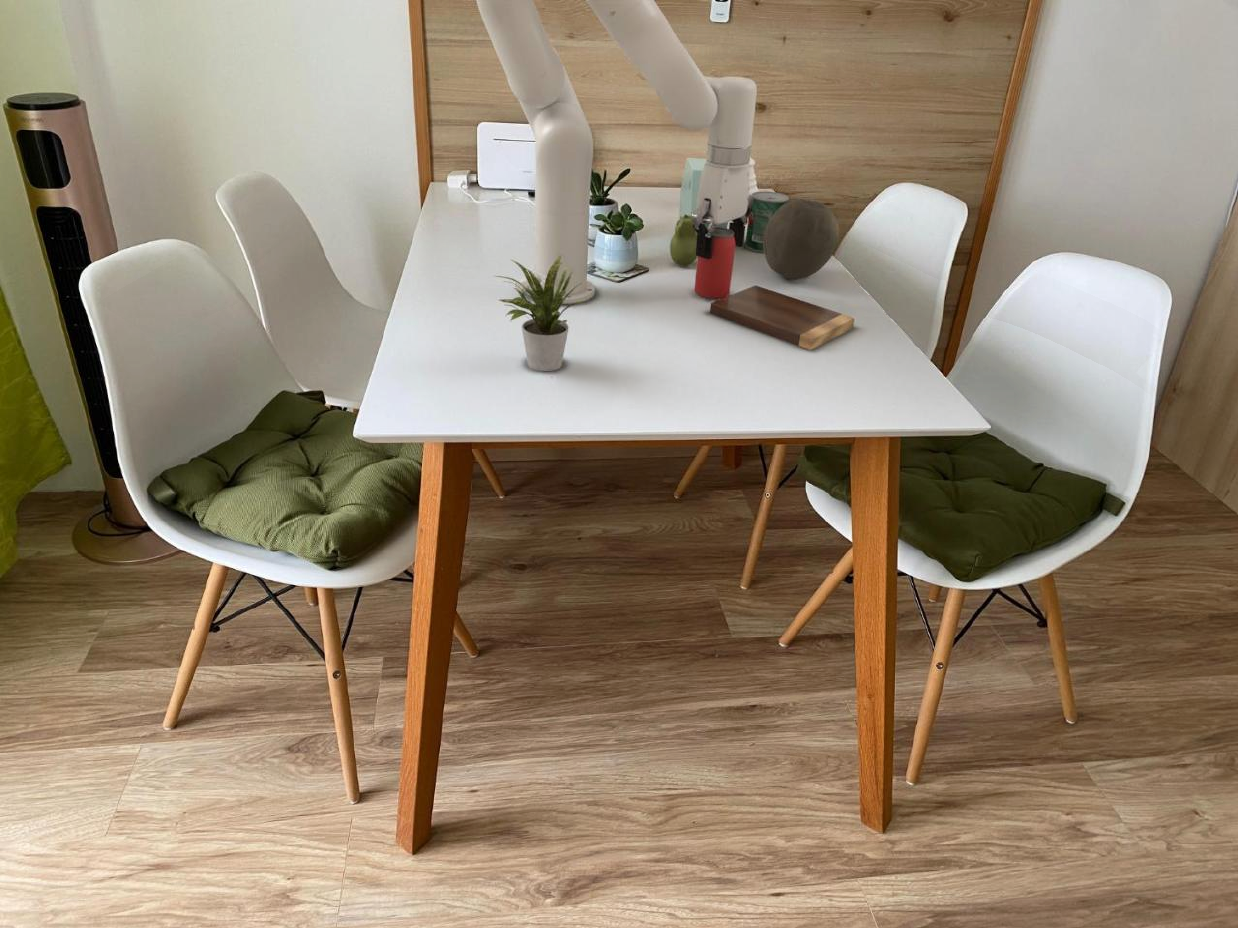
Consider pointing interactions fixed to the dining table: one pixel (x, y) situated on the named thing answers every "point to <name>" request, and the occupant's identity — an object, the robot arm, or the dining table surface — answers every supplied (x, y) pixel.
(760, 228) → the canned tomato
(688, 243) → the pear
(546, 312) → the house plant
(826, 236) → the brown coconut
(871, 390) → the dining table surface
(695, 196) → the pale green tall block
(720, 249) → the beer can
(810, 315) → the cutting board
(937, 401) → the dining table surface
